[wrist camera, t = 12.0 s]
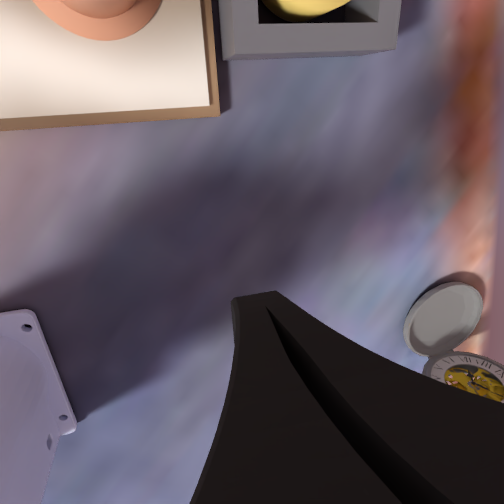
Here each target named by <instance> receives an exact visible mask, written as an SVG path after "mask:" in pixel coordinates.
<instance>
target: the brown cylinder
mask: <svg viewBox="0 0 504 504" xmlns="http://www.w3.org/2000/svg"><path fill="white" fill-rule="evenodd" d="M60 1H61V2H62V3H64V4H65V5H66V6H67V7H69V8H70V9H72V10H74V11H75V12H78V13H80V14H82V15H85V16H88V17H92V18H99V19H106V18H112V17H116V16H119V15H121V14H123V13H124V12H126V11H127V10H129V9H130V8H131V7H132V6H133V5H134V4H135V2H136V1H137V0H60Z"/></svg>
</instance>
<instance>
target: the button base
mask: <svg viewBox="0 0 504 504" xmlns="http://www.w3.org/2000/svg"><path fill="white" fill-rule="evenodd" d="M401 1H402V0H350V1H349V2H347V3H346V4H345V20H344V23H293V24H258V0H218V10H219V23H220V37H221V50H222V60H251V59H280V58H309V57H338V56H361V55H367V54H373V53H378V52H384V51H389V50H395V49H396V44H397V36H398V27H399V18H400V10H401Z"/></svg>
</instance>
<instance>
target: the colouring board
mask: <svg viewBox="0 0 504 504" xmlns="http://www.w3.org/2000/svg"><path fill="white" fill-rule="evenodd" d="M217 116H220V106H219V93H218V81H217V68H216V56H215V44H214V31H213V19H212V6H211V0H137V1H136V2H135V4H134V5H133V6H132V7H131V8H130V9H129V10H127V11H126V12H124V13H123V14H121V15H119V16H116V17H112V18H106V19H99V18H92V17H88V16H85V15H82V14H80V13H78V12H75V11H74V10H72V9H70V8H69V7H67V6H66V5H65V4H64V3H62V2H61V1H60V0H0V131H10V130H25V129H40V128H54V127H69V126H84V125H99V124H114V123H128V122H143V121H158V120H173V119H187V118H202V117H217Z"/></svg>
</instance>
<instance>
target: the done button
mask: <svg viewBox="0 0 504 504" xmlns="http://www.w3.org/2000/svg"><path fill="white" fill-rule="evenodd" d="M262 1H263V3H264V4H265V6H266V7H267V8H268V9H269V10H270V11H271V12H272V13H274V14H275V15H276V16H278V17H280V18H281V19H284V20H286V21H290V22H306V21H309V20H312V19H314V18H316V17H318V16H321V15H323V14H325V13H327V12H329V11H331V10H333V9H335V8H338V7H340V6H342V5H344V4H346V3H347V2H349V1H350V0H262Z"/></svg>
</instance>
